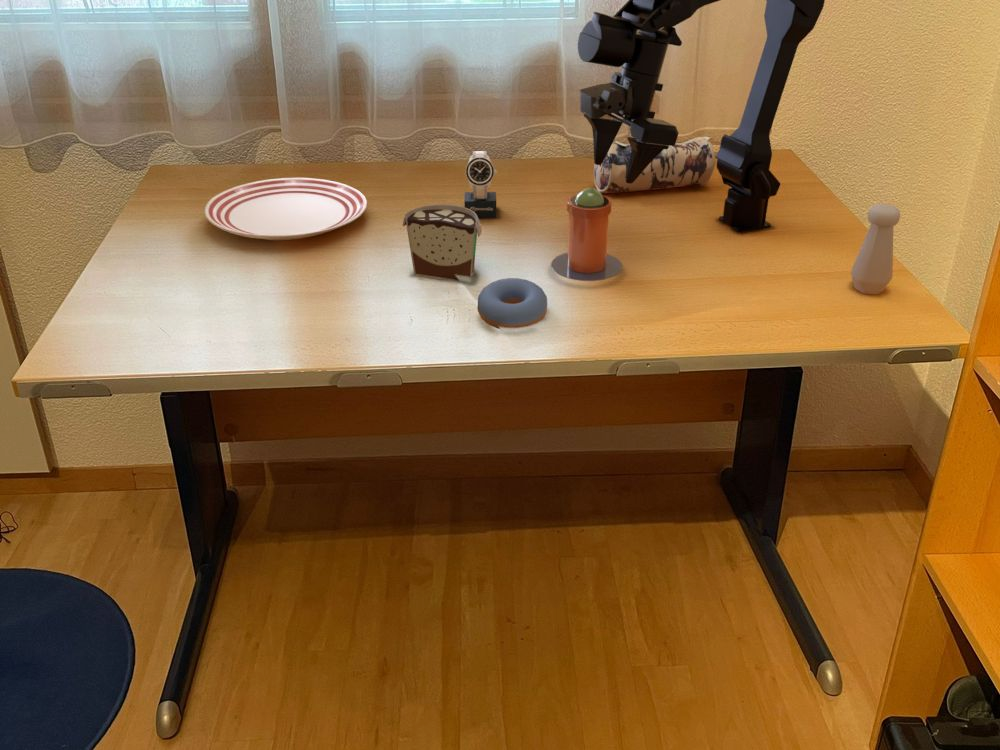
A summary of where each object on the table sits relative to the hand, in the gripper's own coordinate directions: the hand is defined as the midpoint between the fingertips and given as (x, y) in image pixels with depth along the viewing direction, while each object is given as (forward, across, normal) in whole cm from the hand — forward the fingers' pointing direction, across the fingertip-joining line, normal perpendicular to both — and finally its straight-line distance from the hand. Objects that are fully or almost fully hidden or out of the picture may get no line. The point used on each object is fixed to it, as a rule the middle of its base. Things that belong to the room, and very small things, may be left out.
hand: (612, 173), depth 152 cm
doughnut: (+19, +13, -20) cm, 30 cm away
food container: (+20, -5, -21) cm, 29 cm away
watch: (+16, -24, -8) cm, 30 cm away
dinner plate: (+24, -36, -38) cm, 58 cm away
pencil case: (+8, -21, +25) cm, 34 cm away
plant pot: (+14, +4, -3) cm, 15 cm away
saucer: (+15, +4, -3) cm, 16 cm away
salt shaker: (+6, +28, +31) cm, 42 cm away
